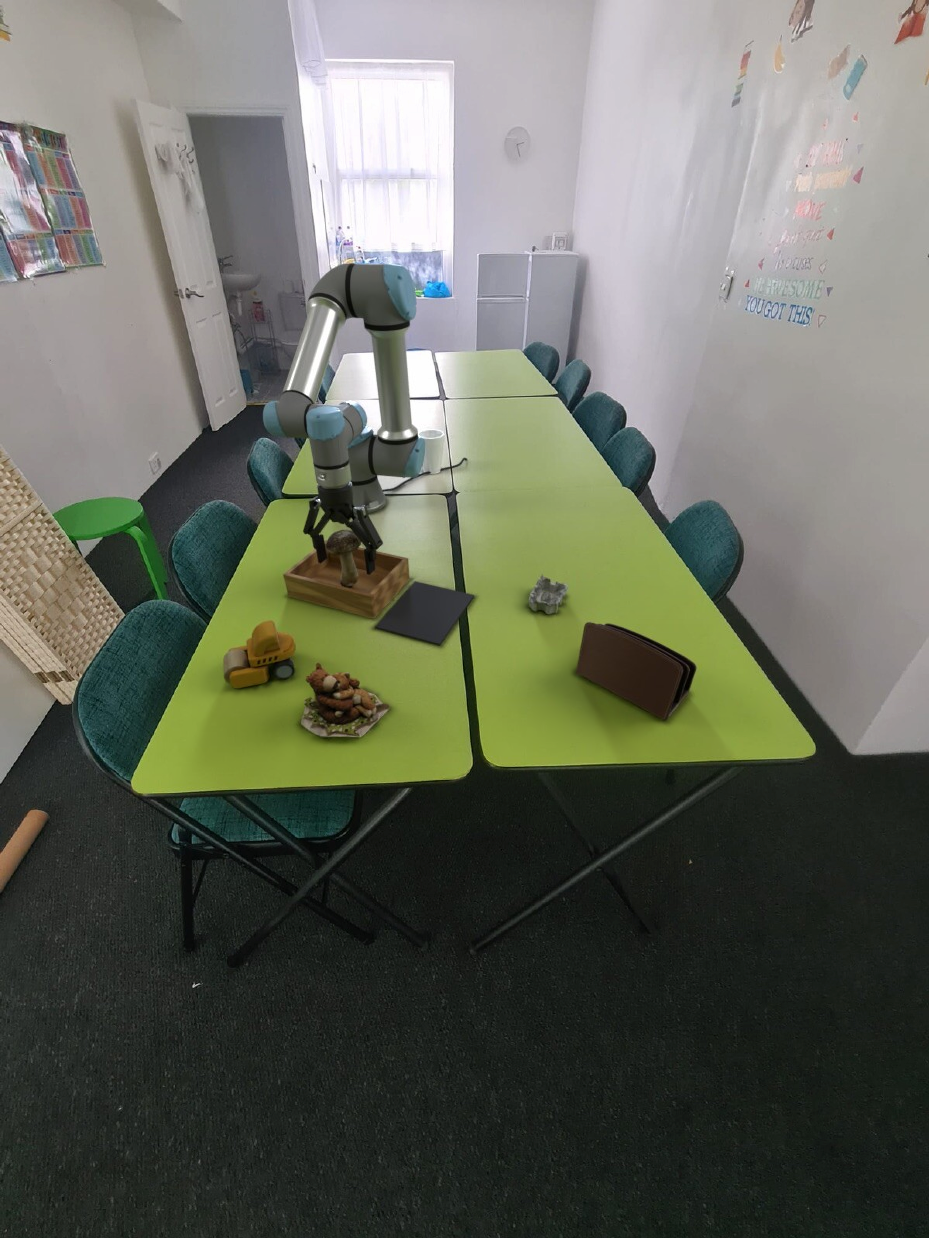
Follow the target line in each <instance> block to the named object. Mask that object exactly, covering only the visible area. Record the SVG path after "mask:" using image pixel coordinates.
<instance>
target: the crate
mask: <svg viewBox="0 0 929 1238" xmlns="http://www.w3.org/2000/svg"><path fill="white" fill-rule="evenodd" d="M327 540H328V539H326V540H324V542H325V548H326V543H327ZM365 549H366V547H361V546H359V547H358V548H357V549H356V550H354V551H352V556H353V560H354V563H355V565H356V569H357V571H358V575H359V576H358V581H357V582H356V583H355V584H354V585H353V587H351V588H346V587H342V585H341V584H340V583H341V582H340V576H341V571H342V565H341V561H340V556H339V555H332V554H330V553H329V552H328V551H327V549H326V554H327V559H326V560H324V561H323V562H322V563H318V558H317V553H316V549H314V548H313V550H312V551H311V552H309V553H308V554H307V555H306V556H304V557H303V558H302V559H300V560H299V561H298V562H296V563H295V564H294V565H293V566H292V567H290V568H289V569H288V570H287V571H286V572H284V573H283V574H282V575H283V580H284V584H285V588H286V589H285V590H286V593H287V597H290V598H293V599H297V600H300V601H305V602H308V603H312V604H316V605H320V606H322V607H326V608H327V607H328V608H330V609H331V608H332V609H335V610H339V611H343V612H345V613H350V614H353V615H358V616H361V617H364V618H369V619H372V620H374V619H376V618H377V617H378V615H379V614H380V613H381V612H382V611H383V610H384V609H385V608H386V606H387V605H389V603H391V601H392V600H393V599H394V597H396V595H397V594H398V593H399V592H400V591H401V590H402V589H403V588H404V587H405V586H406V584H407V583H408V582H409V581H411V575H410V563H409V558H408V557H406V556H400V555H396V554H391V553H387V552H382V551H378V550H376V555H377V558H376V560H375V570H374V571H373V572H372V573H371V574H370V575H368V574H367V571H366V563H365V555H364V550H365Z"/></svg>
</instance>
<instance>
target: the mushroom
mask: <svg viewBox="0 0 929 1238" xmlns="http://www.w3.org/2000/svg"><path fill="white" fill-rule="evenodd" d="M326 540H327V543H326V549H327V551H328V552H329V553H330V554H332V555H339V556H340V561H341V565H342V571H341V576H340V582H341V583H340V584H341V585H342V587H346V588H351V587H353V585H354V584H355V583H356V582H357V581H358V576H359V575H358V571H357V569H356V565H355V563H354V560H353V556H352V551H354V550H356V549H357V548H358V547H361V546H362V542H361V541H360V540H359V539H358V537H357V536H356V535H355V534H354V532H353V531H352V530H351V529H340V530H337V531H334V532H332V534H331V535H330V536H329V537H328V538H327V539H326Z"/></svg>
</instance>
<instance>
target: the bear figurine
mask: <svg viewBox="0 0 929 1238" xmlns="http://www.w3.org/2000/svg"><path fill="white" fill-rule="evenodd" d="M305 682H306V683H308V684H309V687H311V688H312V691H313V694H314V696H315V697H314V698H315V699H314V698H313V697H311V696H310V697H308V698H305V699H304V700H303V703H304V706H305V708H304V711H303V714H302V717H301V719H300V724H301V726H303V727H304V728H305V729H306V730H308V731H309V732H311V733H312V734H314V735H316V736H317V737H319V738H321V739H322V738H326V737H327V738H330V737H332V738H333V737H340V738H341V737H342V738H343V737H345V738H361V737H363V736H364V735H365V734H366V733H367V732H368V731H370V730H371V729H372V728H373V726H375V724H376V723H377V722H378V721H379V720H380V719H381V718H382V717H383V716H384V715H385V714H386V713H387V712H388V711H389V710H390V708H391V706H390V704H388V703H385V702H384V703H383V702H382V701H381V700H380V699H379V698H378V696H377V695H376V694H374V693H372V692H369V691H368V690H367V691H366V690H365V689H363V688H361V687H360V684H361V681H360V680H359V679H358V678H355V677H351V674H350V672H349V671H346V672H341V671H339V672H335V673H333V674H330V672H328V671H326V670H325V669H324V668H323V667H322V664H321V663H320V662H316V663H315V670H312V671H311V672H310V674H309V675H306V677H305Z"/></svg>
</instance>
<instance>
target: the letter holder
mask: <svg viewBox="0 0 929 1238" xmlns="http://www.w3.org/2000/svg"><path fill="white" fill-rule="evenodd" d="M697 668H698V667H697V665H696V663H695V662H694V661H693V660H691V659H689V658H688V657H686V656H685V655H683V654H681V653H680V652H677V651H676V650H674V649H672V648H670V647H668V646H666V645H664V644H662V643H661V642H658V641H656V640H654V639H651V638H650V637H648V636H646V635H642V633H638V632H636V631H633V630H631V629H628V628H626V627H623V626H621V625H617V624H614V623H610V622H609V623H608V622H607V623H606V622H605V623H604V624H603V623H595V622H592V621H588V622H586V623H584V626H583V630H582V636H581V642H580V647H579V653H578V658H577V663H576V668H575V674H577V675H579V676H582V678H585V679H587V680H589V681H590V682H593V683H594V684H596V685H598V686H600V687H602V688H603V689H605V690H607V691H609V692H611V693H613V694H615V695H617V696H618V697H620V698H622V699H624V700H626V701H628V702H629V703H631V704H633V705H635V706H637V707H639V708H640V709H642V710H644V711H646V712H647V713H649V714H652V715H653V716H656V717H657V718H659V719H661V720H662V721H664V722H667V720H668V719H669V718H670V717H671V715H672V714H673V713H674V711H676V709H677V708H679V706H680V705H681V704H682V702H683V701H684V700H685V698H686V697H687V696H688V694H689V693H690V690H691V687H692V684H693V680H694V677H695V674H696V672H697Z"/></svg>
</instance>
